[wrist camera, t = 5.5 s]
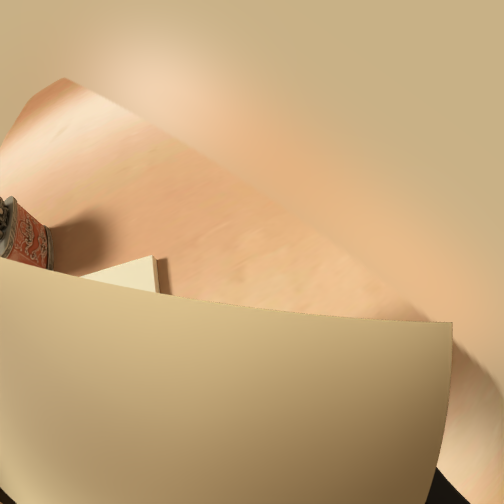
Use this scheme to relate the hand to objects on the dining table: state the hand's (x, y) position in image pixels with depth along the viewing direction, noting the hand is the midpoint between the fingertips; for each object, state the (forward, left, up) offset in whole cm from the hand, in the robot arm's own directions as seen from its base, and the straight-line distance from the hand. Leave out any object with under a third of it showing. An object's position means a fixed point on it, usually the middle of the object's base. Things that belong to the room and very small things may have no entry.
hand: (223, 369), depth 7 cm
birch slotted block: (-1, +1, -7) cm, 7 cm away
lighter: (+21, +18, -14) cm, 31 cm away
